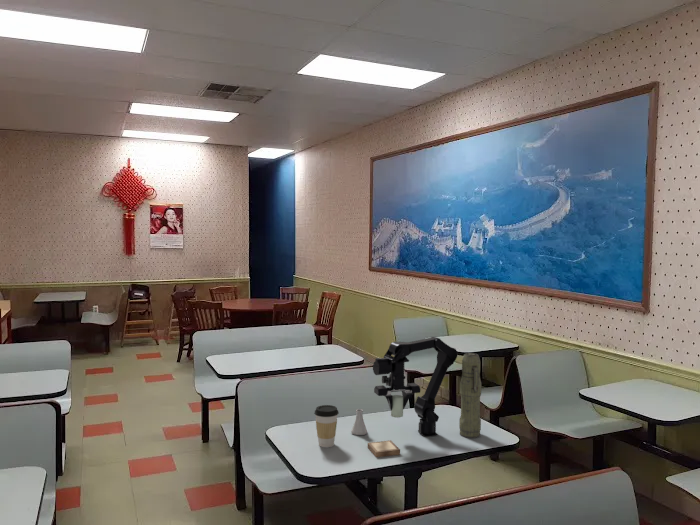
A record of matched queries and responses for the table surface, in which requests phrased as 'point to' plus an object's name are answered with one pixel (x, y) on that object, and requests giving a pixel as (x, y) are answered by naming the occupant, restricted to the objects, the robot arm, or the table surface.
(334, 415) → the coffee cup
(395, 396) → the sage capsule
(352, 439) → the table surface
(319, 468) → the table surface
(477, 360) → the stone statue
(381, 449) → the plinth
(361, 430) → the flask
